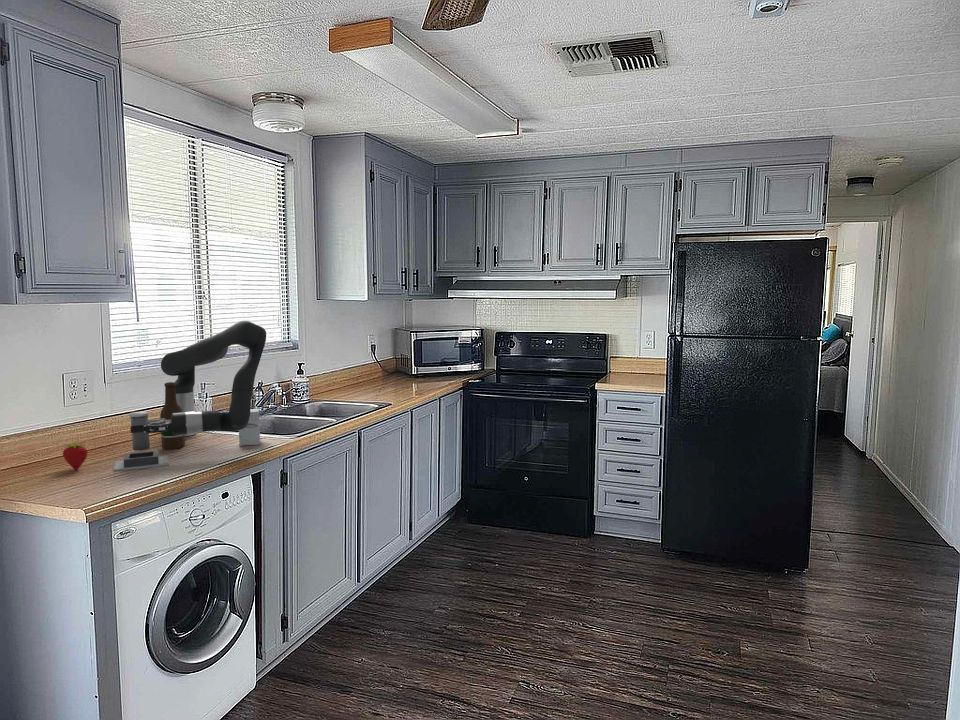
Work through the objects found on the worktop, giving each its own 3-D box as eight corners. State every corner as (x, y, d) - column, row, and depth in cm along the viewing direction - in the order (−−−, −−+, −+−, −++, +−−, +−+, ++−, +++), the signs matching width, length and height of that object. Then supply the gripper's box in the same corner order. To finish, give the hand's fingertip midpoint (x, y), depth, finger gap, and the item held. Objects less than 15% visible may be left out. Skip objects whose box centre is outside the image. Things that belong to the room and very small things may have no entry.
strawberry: (73, 466, 222) (71, 436, 221) (93, 467, 221) (91, 437, 220) (59, 471, 217) (56, 440, 216) (79, 472, 215) (77, 441, 214)
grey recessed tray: (115, 463, 227) (115, 453, 226) (168, 457, 233) (167, 448, 233) (113, 471, 216) (112, 461, 215) (168, 465, 222) (168, 456, 222)
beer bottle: (173, 450, 244) (169, 384, 242) (157, 449, 247) (153, 383, 244) (189, 445, 251) (186, 381, 249) (173, 444, 254) (169, 380, 252)
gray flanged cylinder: (131, 448, 225) (129, 412, 224) (151, 446, 228) (148, 410, 227) (131, 451, 220) (128, 415, 219) (151, 449, 223) (148, 413, 221)
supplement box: (238, 446, 249) (237, 412, 248) (240, 442, 256) (238, 409, 255) (259, 445, 251) (258, 411, 250) (260, 440, 258) (259, 408, 257)
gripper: (185, 409, 235) (130, 413, 228) (187, 415, 223) (129, 420, 215) (187, 430, 236) (132, 435, 229) (188, 437, 223) (130, 443, 216)
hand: (131, 428), depth 222 cm, fingers closed on gray flanged cylinder, 5 cm apart
